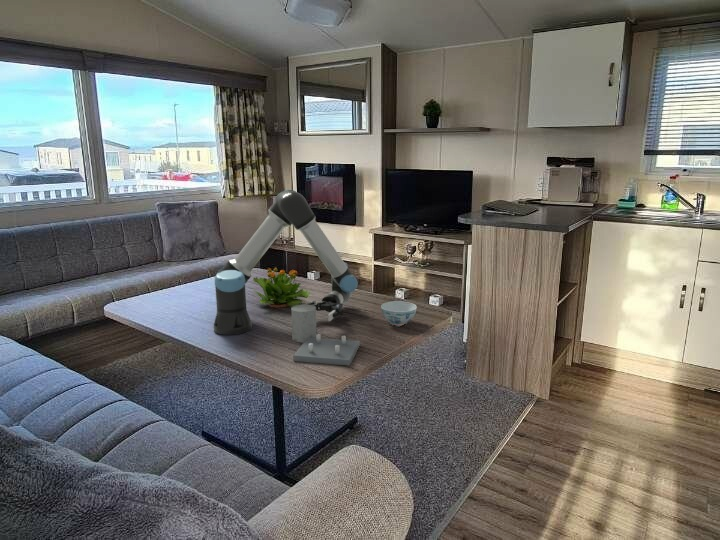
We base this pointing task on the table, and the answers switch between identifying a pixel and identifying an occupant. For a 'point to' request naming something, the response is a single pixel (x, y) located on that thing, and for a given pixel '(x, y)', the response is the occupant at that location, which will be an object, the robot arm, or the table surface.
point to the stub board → (327, 350)
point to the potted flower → (280, 289)
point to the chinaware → (398, 311)
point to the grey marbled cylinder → (303, 322)
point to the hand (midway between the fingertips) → (313, 316)
